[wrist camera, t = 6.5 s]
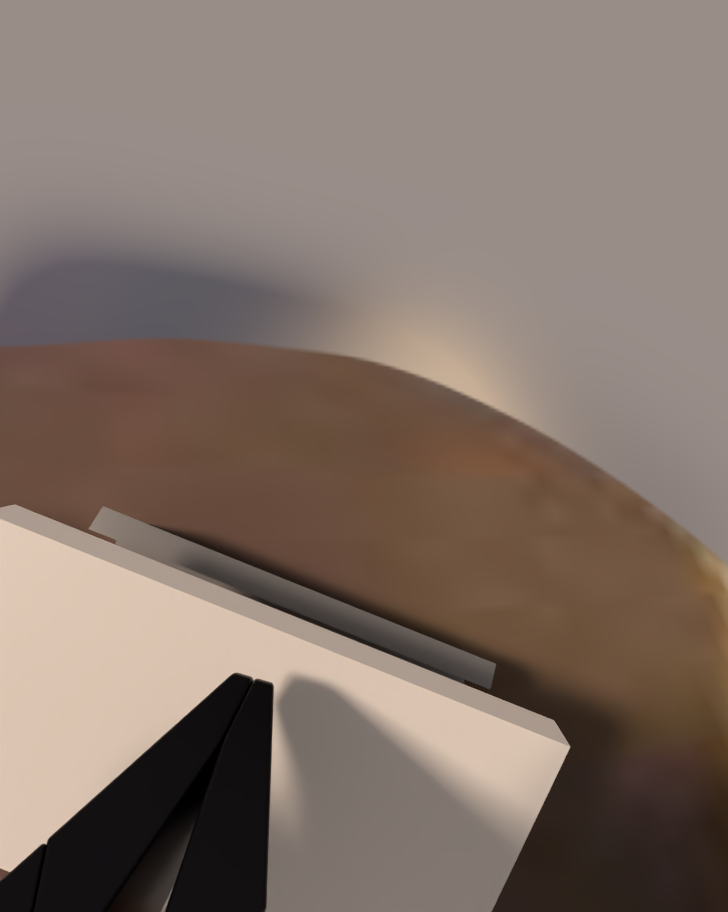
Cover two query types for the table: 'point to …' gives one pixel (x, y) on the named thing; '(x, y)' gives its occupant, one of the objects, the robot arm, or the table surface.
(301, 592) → the cable duct
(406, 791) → the white rectangular panel
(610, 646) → the table surface
